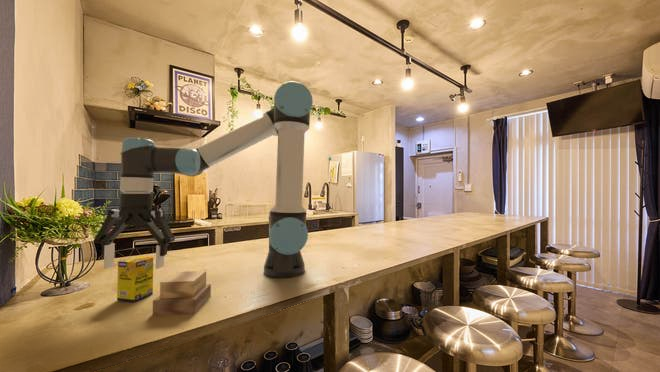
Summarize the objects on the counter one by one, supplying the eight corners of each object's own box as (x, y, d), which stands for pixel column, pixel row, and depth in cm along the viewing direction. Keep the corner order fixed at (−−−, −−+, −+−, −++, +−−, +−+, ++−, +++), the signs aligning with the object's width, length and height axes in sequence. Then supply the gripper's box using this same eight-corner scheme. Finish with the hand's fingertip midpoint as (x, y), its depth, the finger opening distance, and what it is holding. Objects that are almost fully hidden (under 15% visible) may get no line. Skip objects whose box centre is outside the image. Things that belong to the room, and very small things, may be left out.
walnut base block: (210, 298, 73) (210, 284, 73) (195, 315, 63) (195, 299, 63) (174, 299, 72) (174, 285, 72) (152, 317, 62) (152, 300, 62)
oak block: (206, 285, 72) (206, 270, 72) (193, 296, 64) (193, 281, 64) (176, 286, 71) (176, 271, 71) (160, 298, 63) (160, 282, 63)
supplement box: (134, 302, 68) (134, 262, 69) (116, 300, 70) (117, 261, 70) (153, 294, 74) (154, 256, 74) (136, 292, 75) (137, 255, 76)
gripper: (188, 193, 77) (186, 263, 77) (101, 191, 75) (98, 263, 75) (175, 193, 70) (173, 271, 69) (78, 192, 68) (74, 272, 67)
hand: (134, 267), depth 72 cm, fingers open, 13 cm apart
